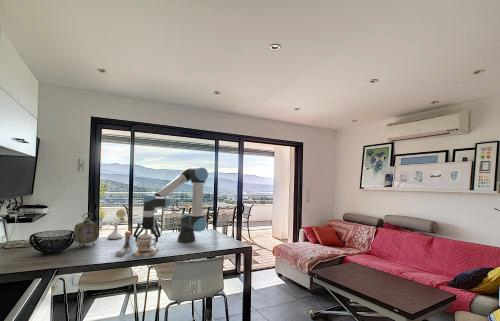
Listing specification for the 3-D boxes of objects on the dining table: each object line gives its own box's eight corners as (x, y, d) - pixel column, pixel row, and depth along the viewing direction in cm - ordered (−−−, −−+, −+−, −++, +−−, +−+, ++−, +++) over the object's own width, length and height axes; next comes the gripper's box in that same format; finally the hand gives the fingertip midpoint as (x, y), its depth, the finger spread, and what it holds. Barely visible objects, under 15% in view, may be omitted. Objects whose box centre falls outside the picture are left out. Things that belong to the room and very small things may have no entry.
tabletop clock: (77, 249, 189) (80, 214, 190) (71, 247, 194) (74, 213, 195) (97, 245, 201) (100, 212, 203) (91, 243, 206) (94, 211, 208)
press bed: (158, 250, 195) (158, 248, 195) (153, 256, 181) (153, 253, 182) (138, 250, 194) (139, 247, 194) (132, 255, 180) (132, 253, 180)
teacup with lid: (137, 251, 182) (138, 234, 182) (137, 248, 190) (138, 231, 191) (155, 250, 186) (156, 233, 187) (154, 247, 194) (155, 231, 195)
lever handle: (131, 245, 194) (132, 230, 195) (129, 247, 190) (130, 231, 190) (125, 245, 194) (126, 230, 194) (122, 247, 189) (123, 231, 190)
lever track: (131, 249, 195) (132, 245, 195) (123, 256, 179) (123, 251, 179) (124, 249, 194) (125, 245, 194) (115, 256, 178) (116, 251, 178)
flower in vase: (106, 240, 218) (108, 209, 220) (109, 237, 229) (111, 208, 231) (123, 239, 222) (125, 210, 223) (125, 236, 232) (127, 208, 234)
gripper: (166, 215, 194) (164, 245, 193) (133, 215, 192) (131, 245, 191) (164, 217, 187) (162, 248, 185) (129, 216, 185) (127, 247, 183)
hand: (146, 246), depth 188 cm, fingers closed on teacup with lid, 12 cm apart
